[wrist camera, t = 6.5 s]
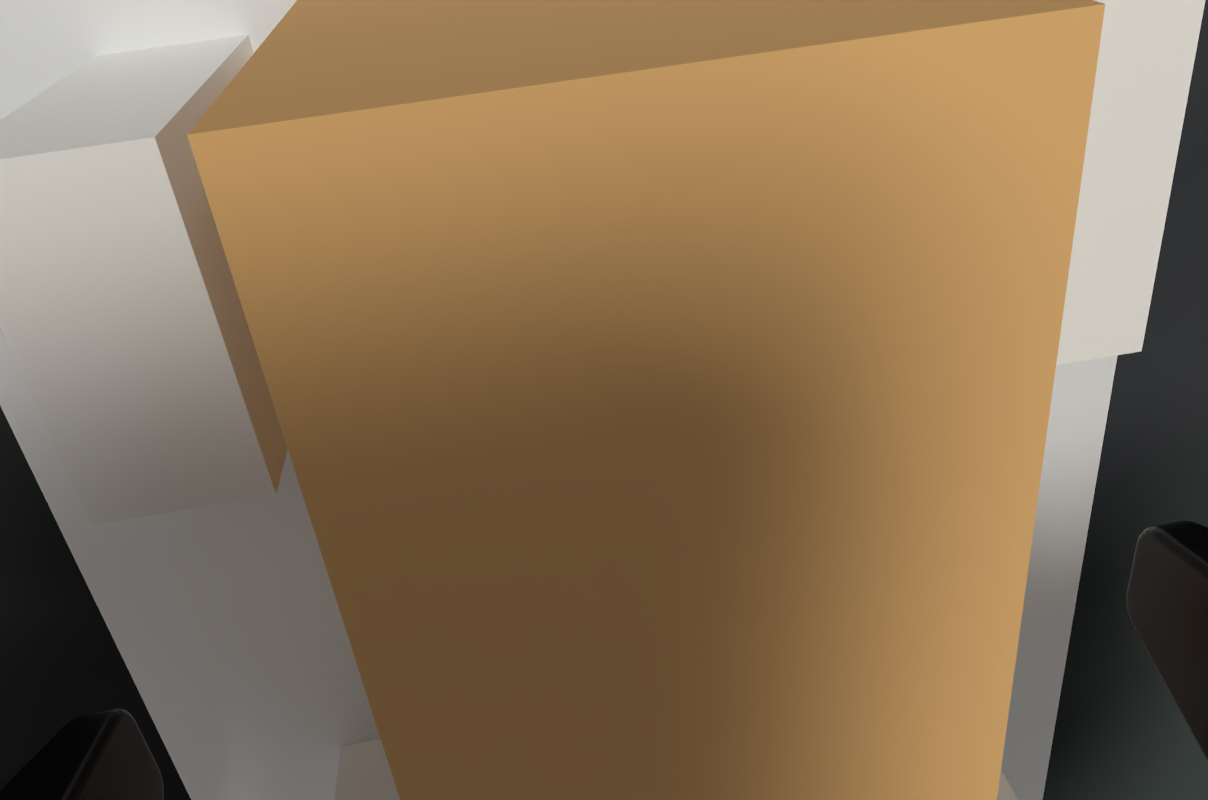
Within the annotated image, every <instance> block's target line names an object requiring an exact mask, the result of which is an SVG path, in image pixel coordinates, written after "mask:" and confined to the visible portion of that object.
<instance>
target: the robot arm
mask: <svg viewBox="0 0 1208 800" xmlns="http://www.w3.org/2000/svg"><path fill="white" fill-rule="evenodd" d="M1126 603H1127V610H1128V614H1129V617H1130V620H1131V622H1132V624H1133V626H1134V628H1135V630H1136V632H1137V634H1138V636H1139V637H1140V639H1141V641H1142V643H1143V645H1144V647H1145V648H1146V650H1147V652H1148V654H1149V656H1150V658H1151V659H1152V661H1153V663H1154V665H1155V667H1156V669H1157V670H1158V672H1159V674H1160V676H1161V678H1162V680H1163V681H1164V683H1165V685H1166V687H1167V689H1168V691H1169V692H1170V694H1171V696H1172V698H1173V700H1174V702H1175V703H1176V705H1177V707H1178V709H1179V711H1180V713H1181V714H1182V716H1183V718H1184V720H1185V722H1186V724H1187V725H1188V727H1189V729H1190V731H1191V733H1192V735H1193V736H1194V738H1195V740H1196V742H1197V744H1198V746H1199V747H1200V749H1201V751H1202V752H1203V754H1204V756H1205V758H1206V759H1207V761H1208V528H1207V527H1205V526H1203V525H1200V524H1197V523H1195V522H1190V521H1180V522H1175V523H1169V524H1163V525H1158V526H1152V527H1149V528H1147V529H1145V530H1144V531H1143V532H1142V533H1141V534H1140V536H1139V537H1138V540H1137V544H1136V549H1135V554H1134V559H1133V564H1132V569H1131V574H1130V579H1129V584H1128V589H1127V595H1126ZM163 797H164V791H163V780H162V776H161V772H160V770H159V767H158V765H157V763H156V761H155V759H154V757H153V755H152V753H151V751H150V749H149V747H148V745H147V743H146V741H145V739H144V737H143V735H142V733H141V731H140V729H139V727H138V725H137V723H136V721H135V719H134V718H133V716H132V715H131V714H130V713H129V712H128V711H126V710H124V709H112V710H106V711H100V712H95V713H89V714H83V715H80V716H77V717H75V718H73V719H72V720H70V721H69V722H68V723H67V724H66V725H65V726H64V727H63V728H62V729H61V730H60V731H59V732H58V733H57V734H56V735H55V736H54V737H53V738H52V739H51V740H50V741H49V742H48V743H47V744H46V745H45V746H44V747H43V748H42V749H41V750H40V751H39V752H38V753H37V754H36V755H35V756H34V757H33V758H32V759H31V760H30V761H29V762H28V763H27V764H26V765H25V766H24V767H23V768H22V769H21V770H20V771H19V772H18V773H17V774H16V775H15V776H14V777H13V778H12V779H11V780H10V781H9V782H8V783H7V784H6V785H5V786H4V787H3V788H2V789H1V790H0V800H163Z"/></svg>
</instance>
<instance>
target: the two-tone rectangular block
mask: <svg viewBox="0 0 1208 800" xmlns="http://www.w3.org/2000/svg"><path fill="white" fill-rule="evenodd" d="M1104 10H1105V4H1104V3H1100V2H1097V1H1093V0H297V1H296V2H295V4H294V5H293V6H292V7H291V8H290V10H289V11H288V12H287V13H286V15H285V16H284V17H283V18H282V19H281V21H280V22H279V23H278V24H277V25H276V27H275V28H274V29H273V30H272V32H271V33H270V34H269V35H268V36H267V38H266V39H265V40H264V41H263V43H262V44H261V45H260V46H259V47H258V49H257V50H256V51H255V52H254V54H253V55H252V56H251V57H250V58H249V60H248V61H247V62H246V63H245V65H244V66H243V67H242V68H241V69H240V71H239V72H238V73H237V74H236V76H235V77H234V78H233V79H232V80H231V82H230V83H229V84H228V85H227V87H226V88H225V89H224V90H223V91H222V93H221V94H220V95H219V96H218V98H217V99H216V100H215V101H214V102H213V104H212V105H211V106H210V107H209V109H208V110H207V111H206V112H205V113H204V115H203V116H202V117H201V118H200V120H199V121H198V122H197V123H196V124H195V126H194V127H193V128H192V129H191V131H190V132H189V133H188V134H187V136H188V140H189V143H190V146H191V149H192V152H193V155H194V158H195V161H196V164H197V168H198V171H199V174H200V177H201V180H202V183H203V186H204V189H205V193H206V196H207V199H208V202H209V205H210V208H211V211H212V214H213V217H214V221H215V224H216V227H217V230H218V233H219V236H220V239H221V242H222V246H223V249H224V252H225V255H226V258H227V261H228V264H229V267H230V270H231V274H232V277H233V280H234V283H235V286H236V289H237V292H238V295H239V299H240V302H241V305H242V308H243V311H244V314H245V317H246V320H247V323H248V327H249V330H250V333H251V336H252V339H253V342H254V345H255V348H256V352H257V355H258V358H259V361H260V364H261V367H262V370H263V373H264V377H265V380H266V383H267V386H268V389H269V392H270V395H271V398H272V401H273V405H274V408H275V411H276V414H277V417H278V420H279V423H280V426H281V430H282V433H283V436H284V439H285V442H286V445H287V448H288V451H289V454H290V458H291V461H292V464H293V467H294V470H295V473H296V476H297V479H298V483H299V486H300V489H301V492H302V495H303V498H304V501H305V504H306V507H307V511H308V514H309V517H310V520H311V523H312V526H313V529H314V532H315V536H316V539H317V542H318V545H319V548H320V551H321V554H322V557H323V560H324V564H325V567H326V570H327V573H328V576H329V579H330V582H331V585H332V589H333V592H334V595H335V598H336V601H337V604H338V607H339V610H340V613H341V617H342V620H343V623H344V626H345V629H346V632H347V635H348V638H349V642H350V645H351V648H352V651H353V654H354V657H355V660H356V663H357V666H358V670H359V673H360V676H361V679H362V682H363V685H364V688H365V691H366V695H367V698H368V701H369V704H370V707H371V710H372V713H373V716H374V719H375V723H376V726H377V729H378V732H379V735H380V738H381V741H382V744H383V748H384V751H385V754H386V757H387V760H388V763H389V766H390V769H391V772H392V776H393V779H394V782H395V785H396V788H397V791H398V794H399V797H400V800H997V795H998V788H999V781H1000V773H1001V766H1002V759H1003V751H1004V744H1005V737H1006V729H1007V722H1008V715H1009V707H1010V700H1011V693H1012V685H1013V678H1014V670H1015V663H1016V656H1017V648H1018V641H1019V634H1020V626H1021V619H1022V612H1023V604H1024V597H1025V590H1026V582H1027V575H1028V568H1029V560H1030V553H1031V546H1032V538H1033V531H1034V524H1035V516H1036V509H1037V502H1038V494H1039V487H1040V480H1041V472H1042V465H1043V458H1044V450H1045V443H1046V436H1047V428H1048V421H1049V414H1050V406H1051V399H1052V392H1053V384H1054V377H1055V370H1056V362H1057V355H1058V348H1059V340H1060V333H1061V326H1062V318H1063V311H1064V303H1065V296H1066V289H1067V281H1068V274H1069V267H1070V259H1071V252H1072V245H1073V237H1074V230H1075V223H1076V215H1077V208H1078V201H1079V193H1080V186H1081V179H1082V171H1083V164H1084V157H1085V149H1086V142H1087V135H1088V127H1089V120H1090V113H1091V105H1092V98H1093V91H1094V83H1095V76H1096V69H1097V61H1098V54H1099V47H1100V39H1101V32H1102V25H1103V17H1104Z"/></svg>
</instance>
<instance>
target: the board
mask: <svg viewBox="0 0 1208 800" xmlns="http://www.w3.org/2000/svg"><path fill="white" fill-rule="evenodd" d="M296 1H297V0H0V406H1V408H2V410H3V412H4V414H5V416H6V418H7V420H8V423H9V425H10V427H11V429H12V431H13V433H14V435H15V437H16V439H17V441H18V443H19V445H20V447H21V449H22V451H23V453H24V456H25V458H26V460H27V462H28V464H29V466H30V468H31V470H32V472H33V474H34V476H35V478H36V480H37V482H38V484H39V487H40V489H41V491H42V493H43V495H44V497H45V499H46V501H47V503H48V505H49V507H50V509H51V511H52V513H53V515H54V518H55V520H56V522H57V524H58V526H59V528H60V530H61V532H62V534H63V536H64V538H65V540H66V542H67V544H68V546H69V549H70V551H71V553H72V555H73V557H74V559H75V561H76V563H77V565H78V567H79V569H80V571H81V573H82V575H83V577H84V579H85V582H86V584H87V586H88V588H89V590H90V592H91V594H92V596H93V598H94V600H95V602H96V604H97V606H98V608H99V610H100V613H101V615H102V617H103V619H104V621H105V623H106V625H107V627H108V629H109V631H110V633H111V635H112V637H113V639H114V641H115V644H116V646H117V648H118V650H119V652H120V654H121V656H122V658H123V660H124V662H125V664H126V666H127V668H128V670H129V672H130V674H131V677H132V679H133V681H134V683H135V685H136V687H137V689H138V691H139V693H140V695H141V697H142V699H143V701H144V703H145V705H146V708H147V710H148V712H149V714H150V716H151V718H152V720H153V722H154V724H155V726H156V728H157V730H158V732H159V734H160V736H161V739H162V741H163V743H164V745H165V747H166V749H167V751H168V753H169V755H170V757H171V759H172V761H173V763H174V765H175V767H176V770H177V772H178V774H179V776H180V778H181V780H182V782H183V784H184V786H185V788H186V790H187V792H188V794H189V796H190V798H191V800H400V797H399V794H398V791H397V788H396V785H395V782H394V779H393V776H392V772H391V769H390V766H389V763H388V760H387V757H386V754H385V751H384V748H383V744H382V741H381V738H380V735H379V732H378V729H377V726H376V723H375V719H374V716H373V713H372V710H371V707H370V704H369V701H368V698H367V695H366V691H365V688H364V685H363V682H362V679H361V676H360V673H359V670H358V666H357V663H356V660H355V657H354V654H353V651H352V648H351V645H350V642H349V638H348V635H347V632H346V629H345V626H344V623H343V620H342V617H341V613H340V610H339V607H338V604H337V601H336V598H335V595H334V592H333V589H332V585H331V582H330V579H329V576H328V573H327V570H326V567H325V564H324V560H323V557H322V554H321V551H320V548H319V545H318V542H317V539H316V536H315V532H314V529H313V526H312V523H311V520H310V517H309V514H308V511H307V507H306V504H305V501H304V498H303V495H302V492H301V489H300V486H299V483H298V479H297V476H296V473H295V470H294V467H293V464H292V461H291V458H290V454H289V451H288V448H287V445H286V442H285V439H284V436H283V433H282V430H281V426H280V423H279V420H278V417H277V414H276V411H275V408H274V405H273V401H272V398H271V395H270V392H269V389H268V386H267V383H266V380H265V377H264V373H263V370H262V367H261V364H260V361H259V358H258V355H257V352H256V348H255V345H254V342H253V339H252V336H251V333H250V330H249V327H248V323H247V320H246V317H245V314H244V311H243V308H242V305H241V302H240V299H239V295H238V292H237V289H236V286H235V283H234V280H233V277H232V274H231V270H230V267H229V264H228V261H227V258H226V255H225V252H224V249H223V246H222V242H221V239H220V236H219V233H218V230H217V227H216V224H215V221H214V217H213V214H212V211H211V208H210V205H209V202H208V199H207V196H206V193H205V189H204V186H203V183H202V180H201V177H200V174H199V171H198V168H197V164H196V161H195V158H194V155H193V152H192V149H191V146H190V143H189V140H188V136H187V134H188V133H189V132H190V131H191V129H192V128H193V127H194V126H195V124H196V123H197V122H198V121H199V120H200V118H201V117H202V116H203V115H204V113H205V112H206V111H207V110H208V109H209V107H210V106H211V105H212V104H213V102H214V101H215V100H216V99H217V98H218V96H219V95H220V94H221V93H222V91H223V90H224V89H225V88H226V87H227V85H228V84H229V83H230V82H231V80H232V79H233V78H234V77H235V76H236V74H237V73H238V72H239V71H240V69H241V68H242V67H243V66H244V65H245V63H246V62H247V61H248V60H249V58H250V57H251V56H252V55H253V54H254V52H255V51H256V50H257V49H258V47H259V46H260V45H261V44H262V43H263V41H264V40H265V39H266V38H267V36H268V35H269V34H270V33H271V32H272V30H273V29H274V28H275V27H276V25H277V24H278V23H279V22H280V21H281V19H282V18H283V17H284V16H285V15H286V13H287V12H288V11H289V10H290V8H291V7H292V6H293V5H294V4H295V2H296ZM1093 1H1097V2H1100V3H1104V4H1105V10H1104V17H1103V25H1102V32H1101V39H1100V47H1099V54H1098V61H1097V69H1096V76H1095V83H1094V91H1093V98H1092V105H1091V113H1090V120H1089V127H1088V135H1087V142H1086V149H1085V157H1084V164H1083V171H1082V179H1081V186H1080V193H1079V201H1078V208H1077V215H1076V223H1075V230H1074V237H1073V245H1072V252H1071V259H1070V267H1069V274H1068V281H1067V289H1066V296H1065V303H1064V311H1063V318H1062V326H1061V333H1060V340H1059V348H1058V355H1057V362H1056V370H1055V377H1054V384H1053V392H1052V399H1051V406H1050V414H1049V421H1048V428H1047V436H1046V443H1045V450H1044V458H1043V465H1042V472H1041V480H1040V487H1039V494H1038V502H1037V509H1036V516H1035V524H1034V531H1033V538H1032V546H1031V553H1030V560H1029V568H1028V575H1027V582H1026V590H1025V597H1024V604H1023V612H1022V619H1021V626H1020V634H1019V641H1018V648H1017V656H1016V663H1015V670H1014V678H1013V685H1012V693H1011V700H1010V707H1009V715H1008V722H1007V729H1006V737H1005V744H1004V751H1003V759H1002V766H1001V773H1000V781H999V788H998V795H997V800H1043V794H1044V788H1045V782H1046V777H1047V771H1048V765H1049V759H1050V753H1051V747H1052V741H1053V735H1054V729H1055V723H1056V717H1057V711H1058V705H1059V699H1060V693H1061V687H1062V682H1063V676H1064V670H1065V664H1066V658H1067V652H1068V646H1069V640H1070V634H1071V628H1072V622H1073V616H1074V610H1075V604H1076V598H1077V592H1078V587H1079V581H1080V575H1081V569H1082V563H1083V557H1084V551H1085V545H1086V539H1087V533H1088V527H1089V521H1090V515H1091V509H1092V503H1093V498H1094V492H1095V486H1096V480H1097V474H1098V468H1099V462H1100V456H1101V450H1102V444H1103V438H1104V432H1105V426H1106V420H1107V414H1108V408H1109V403H1110V397H1111V391H1112V385H1113V379H1114V373H1115V367H1116V361H1117V355H1121V354H1127V353H1133V352H1139V351H1142V346H1143V341H1144V335H1145V330H1146V324H1147V319H1148V313H1149V308H1150V302H1151V297H1152V291H1153V286H1154V280H1155V275H1156V269H1157V264H1158V258H1159V253H1160V247H1161V242H1162V236H1163V231H1164V225H1165V220H1166V214H1167V209H1168V203H1169V198H1170V192H1171V187H1172V181H1173V176H1174V170H1175V165H1176V159H1177V154H1178V148H1179V143H1180V137H1181V132H1182V126H1183V121H1184V115H1185V110H1186V104H1187V99H1188V93H1189V88H1190V82H1191V77H1192V71H1193V66H1194V60H1195V55H1196V49H1197V44H1198V38H1199V33H1200V27H1201V22H1202V16H1203V11H1204V5H1205V0H1093Z"/></svg>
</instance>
